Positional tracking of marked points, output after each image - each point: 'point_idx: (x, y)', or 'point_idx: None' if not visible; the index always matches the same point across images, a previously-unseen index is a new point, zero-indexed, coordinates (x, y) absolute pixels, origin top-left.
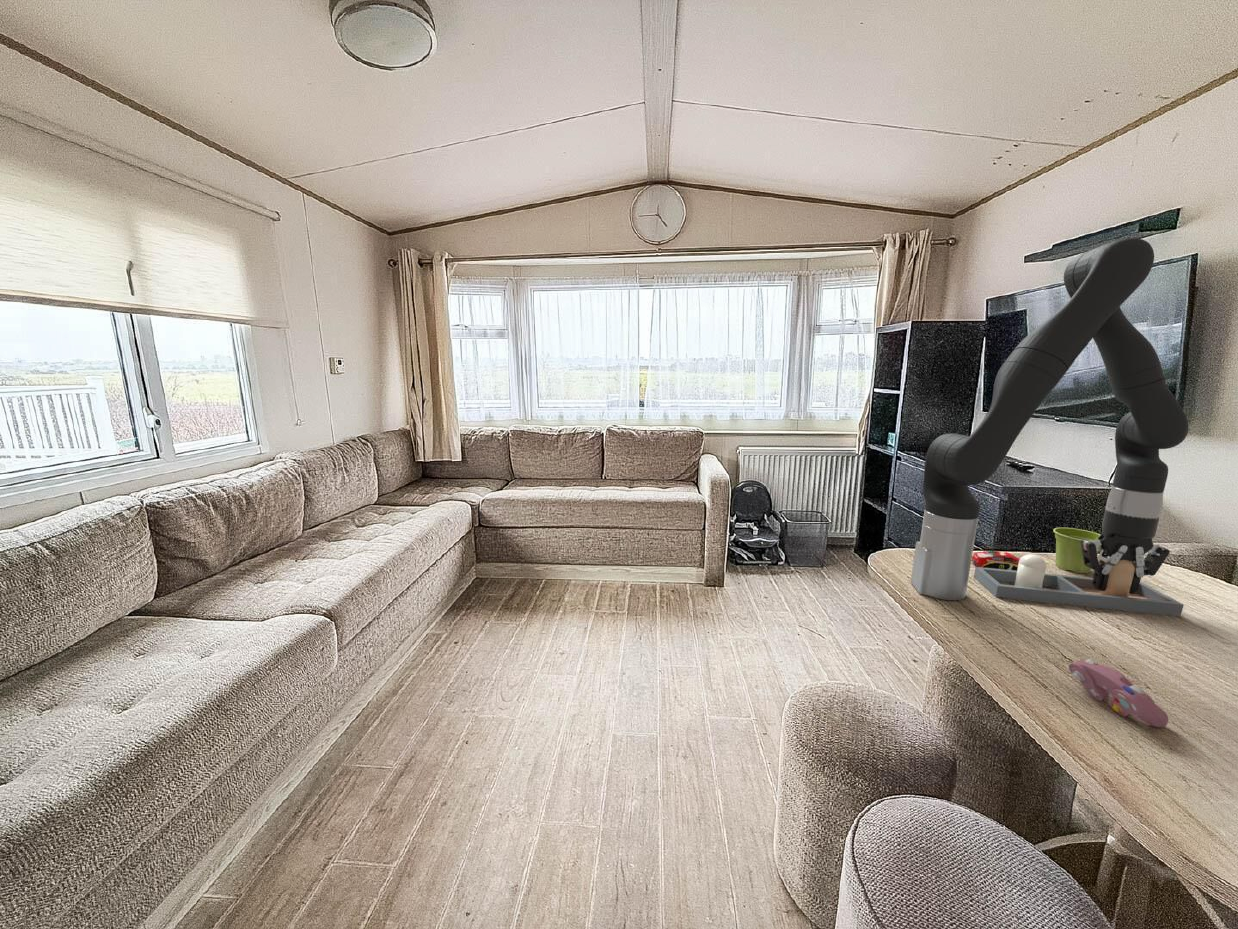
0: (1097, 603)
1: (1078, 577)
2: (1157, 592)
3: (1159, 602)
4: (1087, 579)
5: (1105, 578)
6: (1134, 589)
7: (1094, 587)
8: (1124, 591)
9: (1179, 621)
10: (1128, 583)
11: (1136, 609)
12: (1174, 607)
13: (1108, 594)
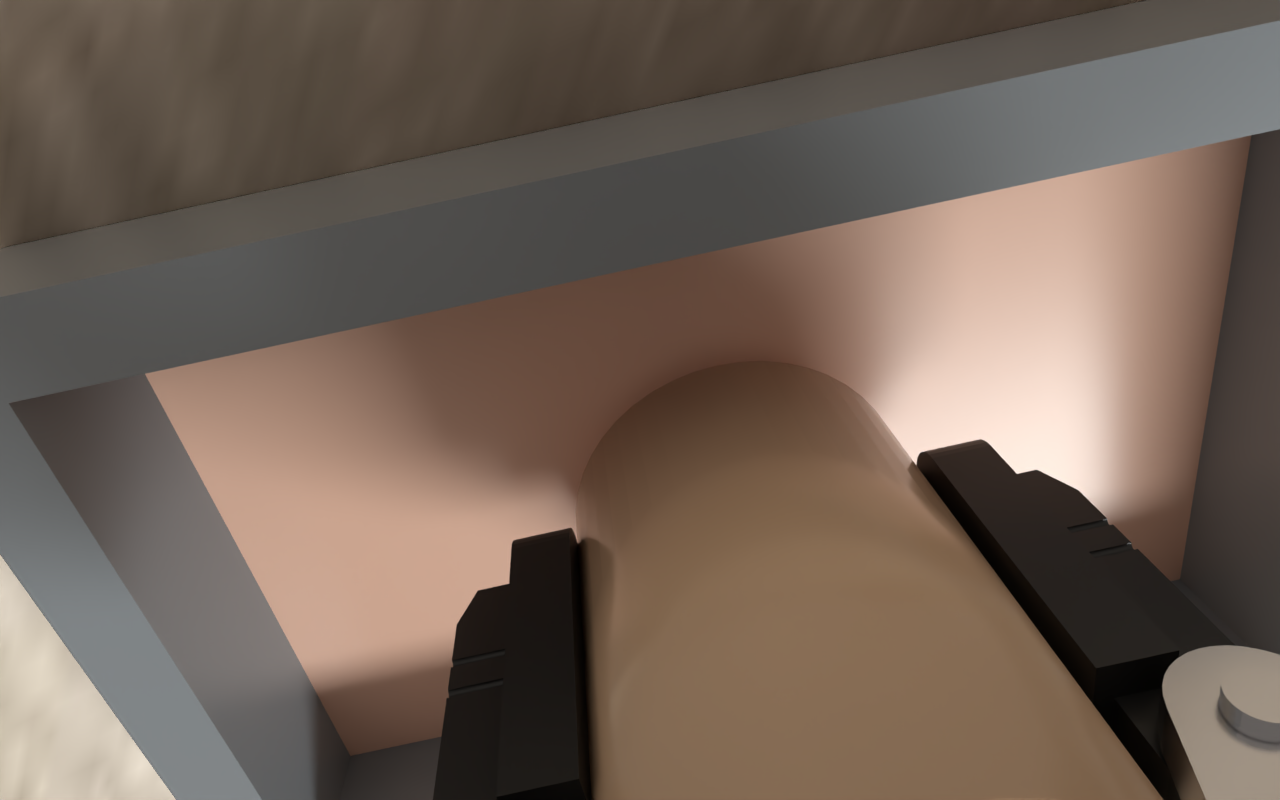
0: (1186, 8)
1: None
2: (172, 703)
3: (250, 237)
4: None
5: (1099, 591)
6: (525, 585)
7: None
8: (720, 442)
9: (44, 16)
10: (708, 570)
11: (593, 129)
12: (25, 273)
13: (867, 411)
